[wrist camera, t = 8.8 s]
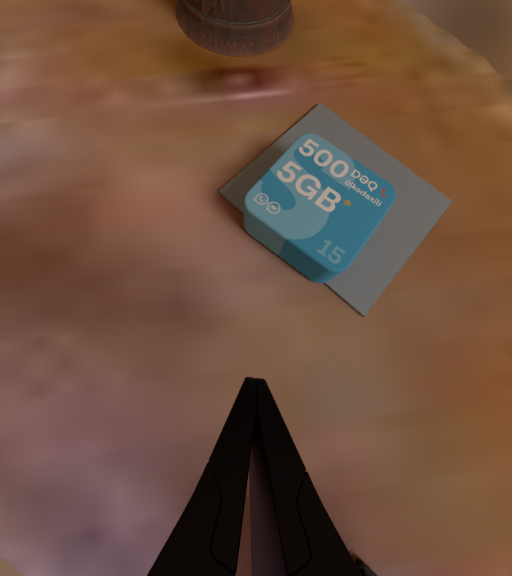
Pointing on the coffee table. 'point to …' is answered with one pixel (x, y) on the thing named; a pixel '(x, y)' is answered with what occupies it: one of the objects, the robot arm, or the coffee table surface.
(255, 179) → the slate rubber mat
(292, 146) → the data package
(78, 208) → the coffee table surface
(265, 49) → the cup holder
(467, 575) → the coffee table surface
